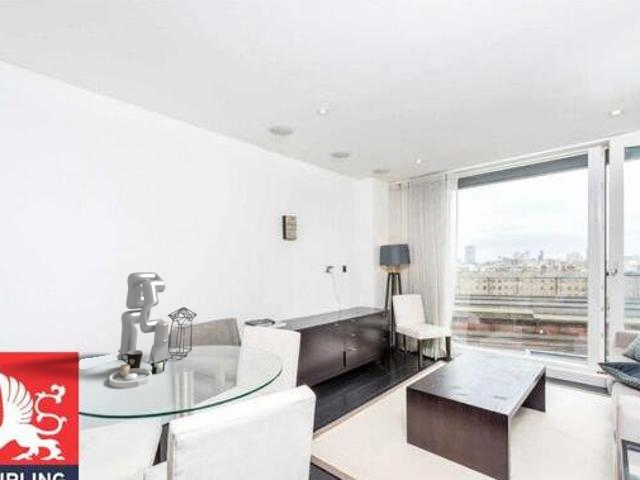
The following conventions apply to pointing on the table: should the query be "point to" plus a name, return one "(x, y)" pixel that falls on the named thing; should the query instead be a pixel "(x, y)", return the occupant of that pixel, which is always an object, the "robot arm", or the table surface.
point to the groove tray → (131, 378)
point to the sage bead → (159, 367)
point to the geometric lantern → (181, 329)
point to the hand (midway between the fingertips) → (158, 371)
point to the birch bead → (124, 370)
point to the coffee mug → (134, 358)
